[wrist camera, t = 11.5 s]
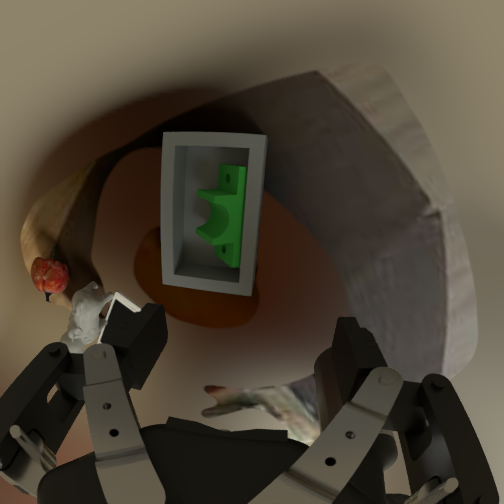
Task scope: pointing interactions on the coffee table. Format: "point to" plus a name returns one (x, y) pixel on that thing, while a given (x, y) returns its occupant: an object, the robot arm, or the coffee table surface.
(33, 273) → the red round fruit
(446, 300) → the coffee table surface
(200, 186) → the bin
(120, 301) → the cell phone
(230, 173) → the pipe clamp
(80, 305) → the dog figurine
